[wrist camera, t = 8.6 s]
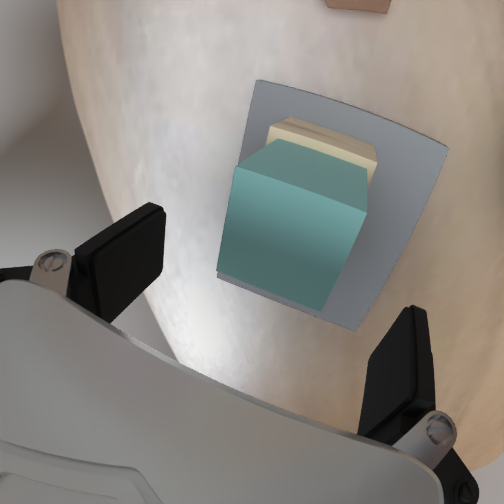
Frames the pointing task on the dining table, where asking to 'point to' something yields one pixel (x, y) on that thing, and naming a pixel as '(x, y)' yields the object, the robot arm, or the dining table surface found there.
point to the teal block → (292, 221)
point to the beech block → (326, 142)
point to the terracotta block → (361, 5)
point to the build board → (378, 193)
